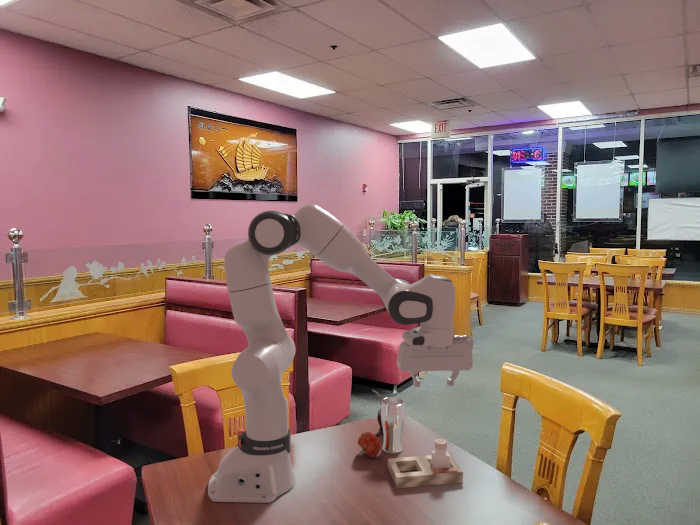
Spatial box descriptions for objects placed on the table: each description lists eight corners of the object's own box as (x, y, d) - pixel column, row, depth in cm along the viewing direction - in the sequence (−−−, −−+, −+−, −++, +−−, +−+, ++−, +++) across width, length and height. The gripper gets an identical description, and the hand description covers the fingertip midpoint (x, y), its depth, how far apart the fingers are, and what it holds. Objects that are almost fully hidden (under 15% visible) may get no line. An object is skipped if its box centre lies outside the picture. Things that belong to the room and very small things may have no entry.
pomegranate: (364, 471, 147) (391, 448, 148) (348, 451, 146) (375, 429, 147) (360, 461, 154) (386, 439, 155) (345, 442, 154) (371, 420, 155)
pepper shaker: (430, 471, 142) (431, 439, 141) (443, 469, 144) (444, 437, 142) (436, 479, 139) (437, 445, 137) (450, 477, 140) (451, 443, 139)
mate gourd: (402, 430, 168) (403, 386, 166) (392, 440, 161) (392, 394, 159) (382, 425, 172) (382, 382, 170) (370, 434, 165) (371, 389, 163)
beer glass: (402, 455, 151) (403, 406, 149) (379, 453, 153) (379, 404, 151) (404, 444, 158) (405, 397, 156) (382, 442, 159) (382, 395, 158)
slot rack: (396, 488, 134) (397, 476, 134) (387, 468, 144) (387, 457, 144) (462, 482, 137) (463, 470, 137) (449, 463, 147) (449, 452, 146)
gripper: (469, 332, 142) (465, 380, 143) (396, 332, 138) (394, 382, 140) (478, 338, 135) (474, 389, 137) (402, 339, 132) (400, 391, 134)
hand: (433, 385), depth 139 cm, fingers open, 8 cm apart
